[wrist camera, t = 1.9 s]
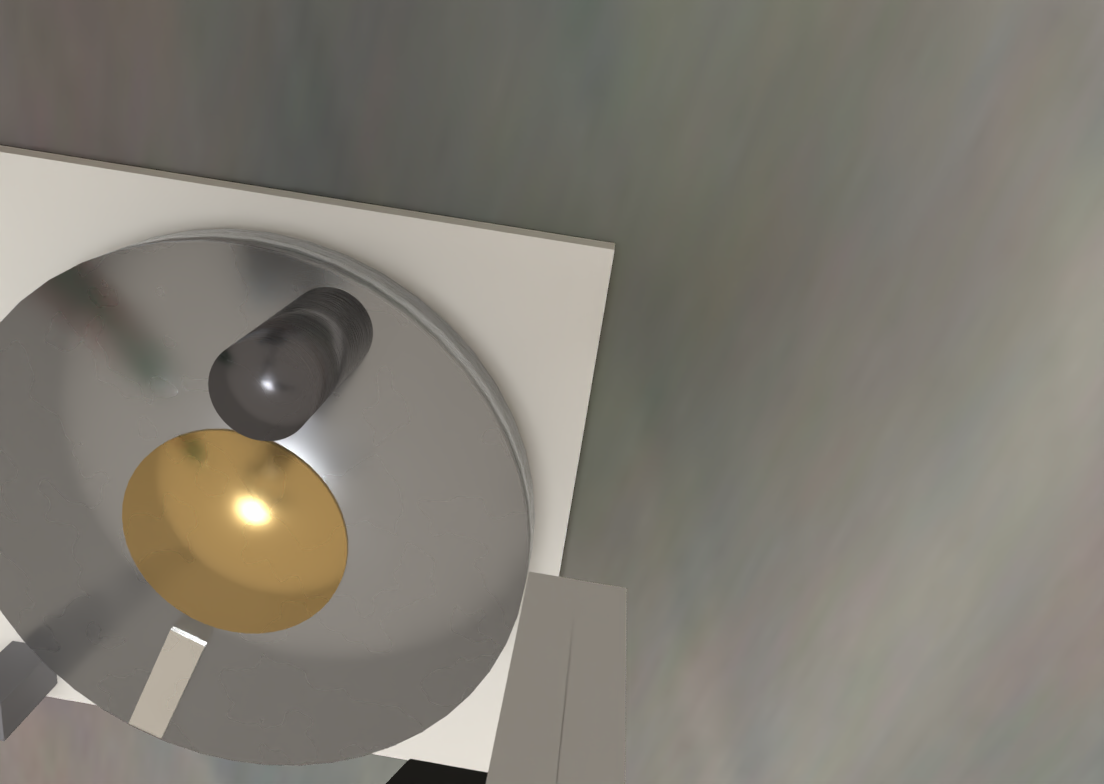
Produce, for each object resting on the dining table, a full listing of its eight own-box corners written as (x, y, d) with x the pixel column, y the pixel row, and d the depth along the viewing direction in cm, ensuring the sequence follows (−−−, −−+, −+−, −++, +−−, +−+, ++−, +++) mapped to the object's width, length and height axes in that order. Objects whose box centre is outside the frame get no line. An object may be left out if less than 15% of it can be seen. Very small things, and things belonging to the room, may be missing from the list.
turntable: (-30, 183, 26) (-251, 225, 20) (574, 281, 26) (554, 357, 19) (15, 677, 33) (-139, 833, 26) (499, 763, 32) (465, 943, 26)
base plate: (-33, 139, 27) (-139, 152, 23) (615, 243, 27) (612, 273, 23) (16, 670, 34) (-59, 745, 31) (526, 760, 34) (514, 848, 30)
